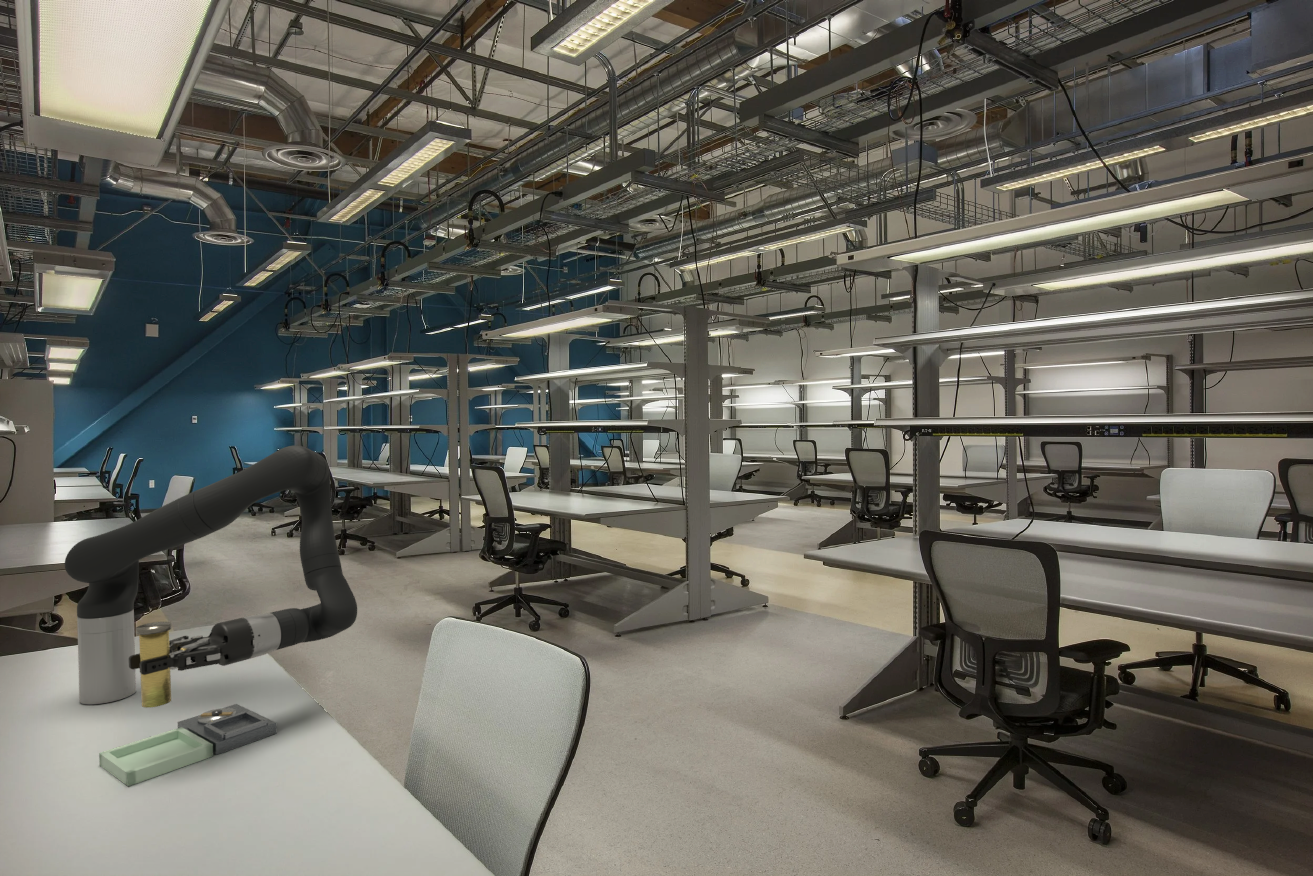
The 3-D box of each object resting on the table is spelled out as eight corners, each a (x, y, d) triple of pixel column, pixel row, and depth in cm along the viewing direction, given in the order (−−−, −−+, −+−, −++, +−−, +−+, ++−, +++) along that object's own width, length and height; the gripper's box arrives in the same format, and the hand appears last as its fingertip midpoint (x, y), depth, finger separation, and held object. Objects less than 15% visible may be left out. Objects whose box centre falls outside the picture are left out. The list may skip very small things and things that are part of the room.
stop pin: (133, 704, 117) (131, 627, 117) (167, 694, 121) (164, 620, 121) (145, 711, 115) (142, 631, 114) (179, 701, 119) (176, 624, 118)
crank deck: (177, 733, 129) (177, 716, 129) (236, 714, 137) (236, 698, 137) (216, 755, 120) (215, 736, 120) (276, 733, 128) (276, 716, 128)
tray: (99, 765, 117) (99, 753, 117) (181, 738, 126) (181, 727, 126) (128, 786, 110) (127, 773, 110) (212, 756, 120) (212, 744, 120)
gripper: (227, 611, 133) (117, 635, 119) (265, 623, 125) (152, 650, 111) (228, 651, 134) (119, 680, 120) (266, 666, 125) (153, 698, 111)
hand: (135, 665), depth 116 cm, fingers closed on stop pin, 4 cm apart
